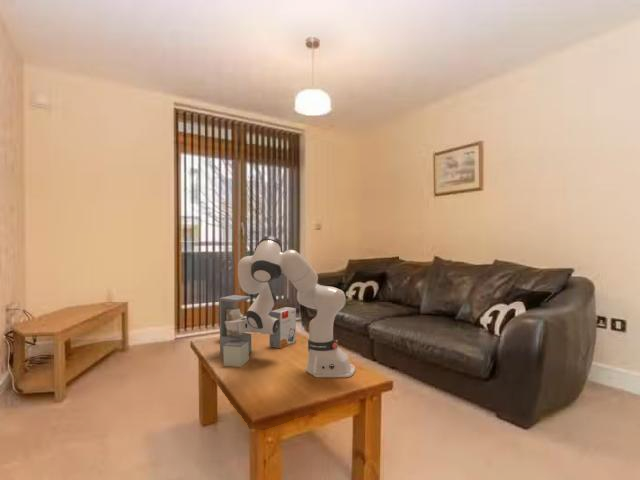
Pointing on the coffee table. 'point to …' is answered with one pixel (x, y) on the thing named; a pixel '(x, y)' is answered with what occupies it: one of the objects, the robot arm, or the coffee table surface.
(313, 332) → the robot arm
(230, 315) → the block
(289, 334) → the hard drive box
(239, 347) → the stand
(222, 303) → the grey podium
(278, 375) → the coffee table surface
